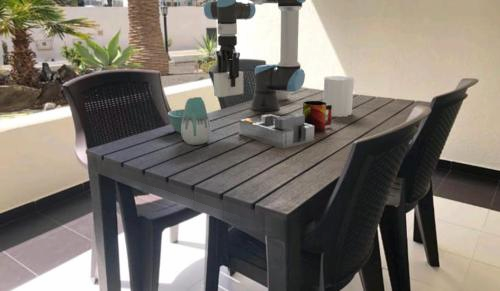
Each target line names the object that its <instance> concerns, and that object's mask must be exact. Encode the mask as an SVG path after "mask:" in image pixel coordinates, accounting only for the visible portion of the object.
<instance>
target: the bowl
mask: <svg viewBox="0 0 500 291" xmlns="http://www.w3.org/2000/svg"><path fill="white" fill-rule="evenodd" d="M184 110H185V108H183V109H182V108H181V109H175V110H174V109H173V110H170V111H169V112H167V116H168V119H169V121H170V123H171V125H172V128H173V130H174V131H175V132H176V133H178V134H181V124H182V119H183V115H184Z"/></svg>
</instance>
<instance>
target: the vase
mask: <svg viewBox="0 0 500 291" xmlns="http://www.w3.org/2000/svg"><path fill="white" fill-rule="evenodd" d="M184 109H185V110H184V115H183V119H182V124H181V133H180V134H181V137H182V139H183V141H184V142H185V143H186V144H188V145H192V146H200V145H203V144H206V143H207V142H208V141H209V140H210V138H211V134H212V127H211V123H210V122H211V121H210V118H209V115H208V112H207V108H206V104H205V101H204V100H203V98H202V97H201V96H198V97H195V96H194V97H190V98H188V99H187V100H186V102H185V106H184Z"/></svg>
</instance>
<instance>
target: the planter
mask: <svg viewBox="0 0 500 291" xmlns="http://www.w3.org/2000/svg"><path fill="white" fill-rule="evenodd" d="M290 95H291V92H288V91H280V90H277V97H278V101H279V102H281V101H285V100H287V99H288V98H290Z"/></svg>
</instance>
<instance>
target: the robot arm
mask: <svg viewBox="0 0 500 291" xmlns="http://www.w3.org/2000/svg"><path fill="white" fill-rule="evenodd" d="M306 1H307V0H210V1H207V2H205V3H204V7H203V14H204V16H205V17H206V19H209V20H217V35H218V36H217V45H218V46H220V49H219V50H216V51H215V54H216V62H217V63H216V66H217V73H224V72H229V76H230V78H228V84H229V95H231V96H235V95H234V94H235V79H236V78H237V77H239V71H240V56H241V53H240V52H237V51H236V46H237V44H238V36H237V34H238V30H237V26H238V24H237V20H246V21H247V20H251V19H252V18H254V16H255V14H256V10H257V9H256V6H257V5H258V6H259V5H260V6H261V5H263V4H277V8H278V9H279V10H280V57H279V59H280V61H279V62H278V63H277V64H276V63H273V64H271V63H270V64H261V65H256V67H255V68H254V95H253V98H252V102H251V104H250V105H251V110H253V111H257V112H274V111H278V110H280V108H281V107H280V101H278V97H277V90H280V91H288V92H290V93H297V92H299V91H300V90H301V89H302V87H303V85H304V83H305V77H306V74H305V70H304V69H302V68H301V63H300V62H299V60H298V59H299V58H298V56H299V17H300V10H301V9H302V8H303V3H305V2H306Z"/></svg>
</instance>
